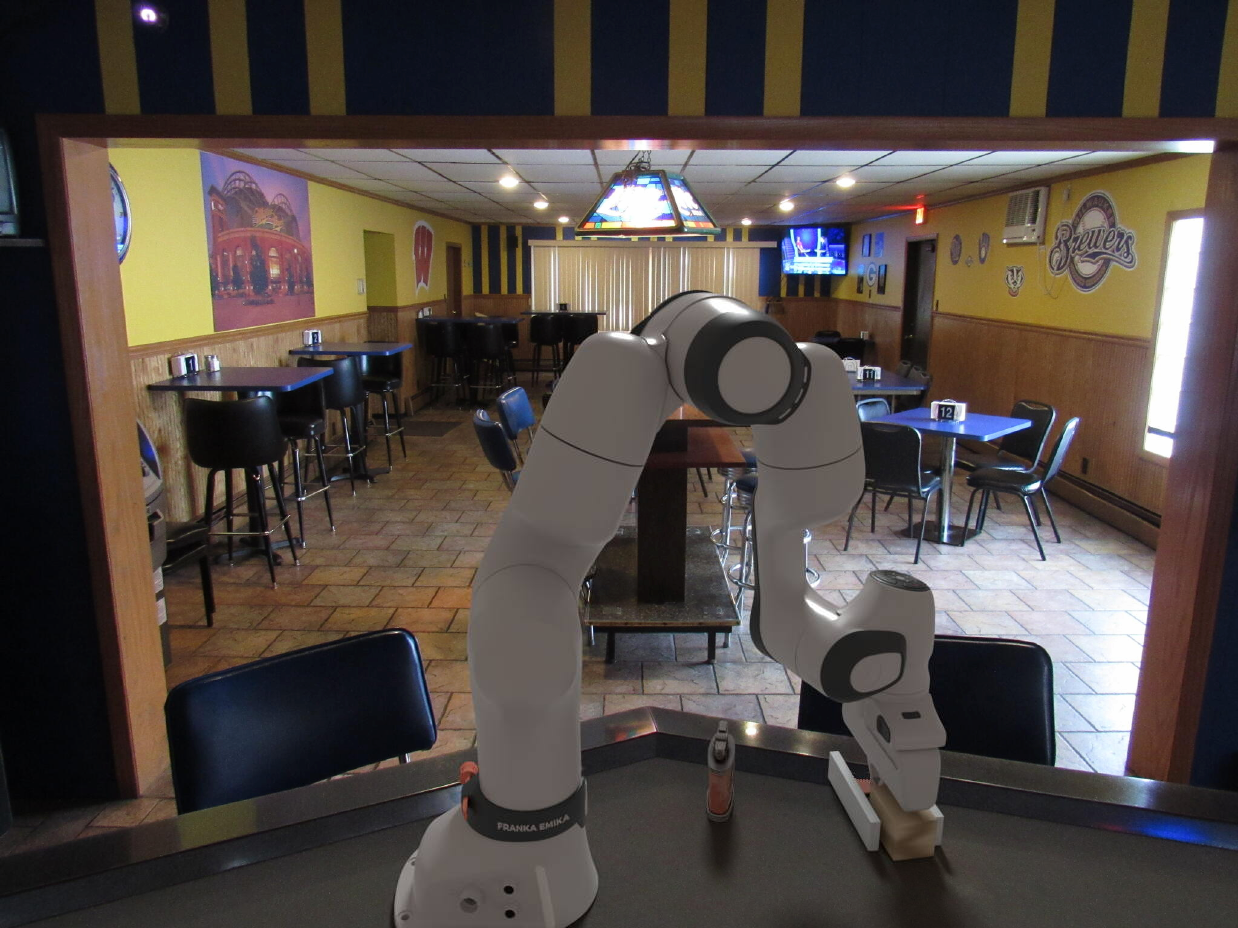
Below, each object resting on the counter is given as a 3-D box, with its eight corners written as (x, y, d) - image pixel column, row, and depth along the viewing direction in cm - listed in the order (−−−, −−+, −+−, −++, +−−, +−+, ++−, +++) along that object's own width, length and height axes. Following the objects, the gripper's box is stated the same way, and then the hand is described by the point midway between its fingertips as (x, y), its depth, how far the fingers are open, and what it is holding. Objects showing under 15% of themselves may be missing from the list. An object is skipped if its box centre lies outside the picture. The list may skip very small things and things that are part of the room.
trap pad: (848, 795, 110) (849, 793, 110) (838, 776, 113) (838, 774, 113) (894, 792, 110) (894, 790, 110) (882, 773, 114) (882, 771, 114)
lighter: (730, 823, 105) (733, 753, 102) (703, 819, 105) (705, 750, 103) (735, 782, 112) (737, 717, 110) (710, 779, 113) (711, 714, 110)
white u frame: (868, 850, 100) (870, 822, 99) (828, 777, 113) (829, 751, 112) (940, 844, 101) (944, 816, 100) (892, 772, 114) (894, 746, 113)
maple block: (893, 860, 98) (897, 824, 97) (867, 820, 105) (870, 786, 104) (933, 855, 99) (937, 819, 98) (905, 816, 106) (908, 782, 104)
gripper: (834, 657, 113) (827, 746, 116) (900, 747, 93) (890, 851, 97) (879, 654, 113) (871, 743, 117) (954, 742, 94) (942, 846, 98)
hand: (880, 793), depth 107 cm, fingers closed
